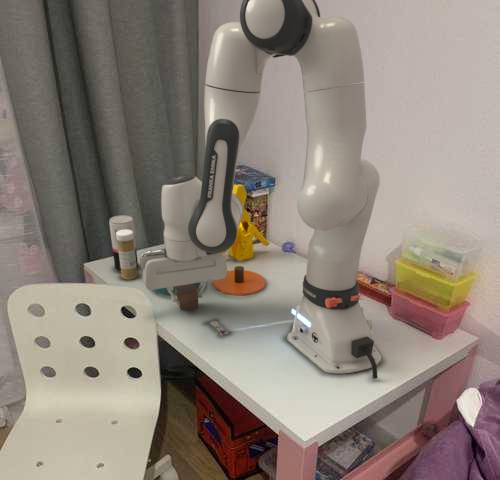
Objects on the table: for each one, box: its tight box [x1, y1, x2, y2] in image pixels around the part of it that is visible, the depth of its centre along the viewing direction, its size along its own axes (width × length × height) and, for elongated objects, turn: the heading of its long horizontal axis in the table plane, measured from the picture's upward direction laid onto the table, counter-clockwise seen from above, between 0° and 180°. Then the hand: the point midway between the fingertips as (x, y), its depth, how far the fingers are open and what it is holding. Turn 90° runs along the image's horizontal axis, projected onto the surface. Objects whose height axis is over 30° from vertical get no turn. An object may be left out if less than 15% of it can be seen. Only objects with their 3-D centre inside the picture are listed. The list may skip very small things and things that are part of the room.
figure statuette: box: [222, 183, 271, 261], centre depth 146 cm, size 18×8×22 cm, turn 121°
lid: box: [212, 265, 266, 296], centre depth 134 cm, size 15×15×5 cm
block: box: [175, 284, 199, 312], centre depth 120 cm, size 5×5×5 cm
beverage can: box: [108, 214, 139, 273], centre depth 139 cm, size 6×7×15 cm
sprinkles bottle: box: [116, 229, 138, 281], centre depth 135 cm, size 5×5×14 cm
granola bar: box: [210, 320, 229, 337], centre depth 115 cm, size 7×2×1 cm, turn 33°
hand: (187, 298), depth 120 cm, fingers closed on block, 4 cm apart
